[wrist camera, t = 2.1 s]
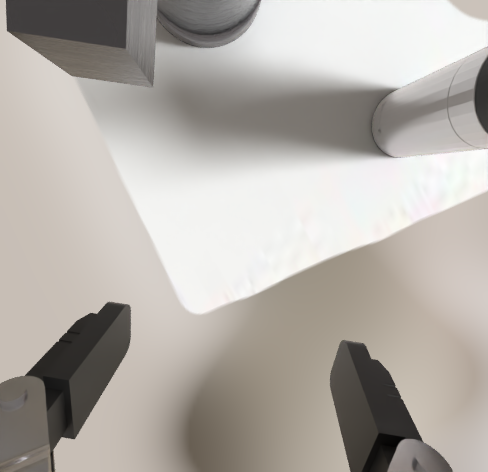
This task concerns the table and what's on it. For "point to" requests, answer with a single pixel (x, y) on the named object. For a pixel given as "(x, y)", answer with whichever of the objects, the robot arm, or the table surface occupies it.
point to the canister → (207, 20)
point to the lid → (90, 36)
